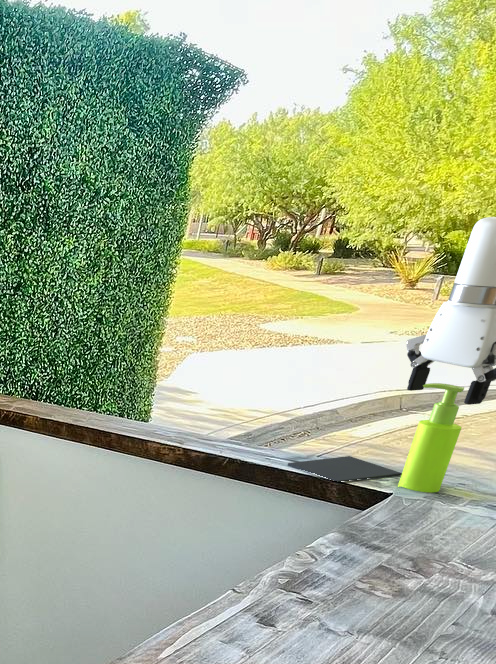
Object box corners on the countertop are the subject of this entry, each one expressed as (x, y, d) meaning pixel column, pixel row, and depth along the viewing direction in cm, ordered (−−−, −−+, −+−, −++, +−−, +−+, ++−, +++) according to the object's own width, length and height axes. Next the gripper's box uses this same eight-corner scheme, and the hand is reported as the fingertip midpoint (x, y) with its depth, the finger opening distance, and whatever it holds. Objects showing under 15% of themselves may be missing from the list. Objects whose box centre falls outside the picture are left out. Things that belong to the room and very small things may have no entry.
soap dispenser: (394, 483, 145) (429, 379, 137) (440, 493, 140) (479, 386, 132) (385, 490, 141) (420, 384, 133) (432, 501, 136) (471, 391, 129)
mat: (348, 458, 159) (349, 455, 158) (401, 475, 149) (402, 473, 149) (287, 465, 155) (288, 462, 155) (337, 483, 145) (338, 480, 145)
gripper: (555, 302, 120) (513, 408, 127) (441, 289, 136) (409, 383, 142) (521, 304, 118) (480, 411, 125) (409, 290, 134) (378, 386, 141)
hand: (442, 396), depth 134 cm, fingers open, 9 cm apart
